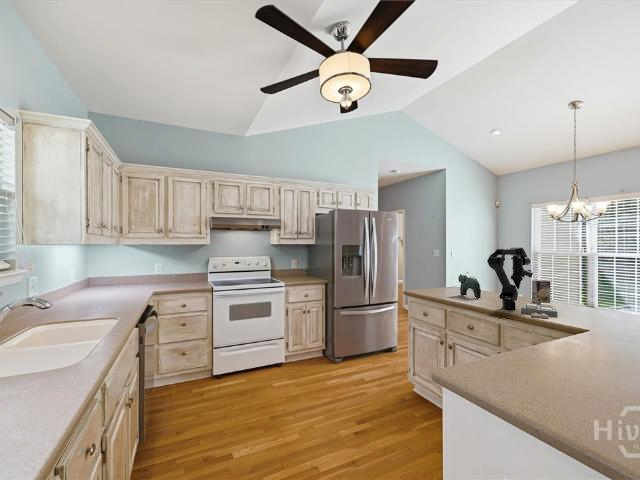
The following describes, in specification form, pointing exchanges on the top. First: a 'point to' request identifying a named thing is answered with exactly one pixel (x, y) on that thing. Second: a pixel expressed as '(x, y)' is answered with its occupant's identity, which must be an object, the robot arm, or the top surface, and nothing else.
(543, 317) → the pattern card
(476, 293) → the ceramic cat
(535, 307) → the button front left
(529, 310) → the control panel
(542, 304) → the button back right
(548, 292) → the coffee box
